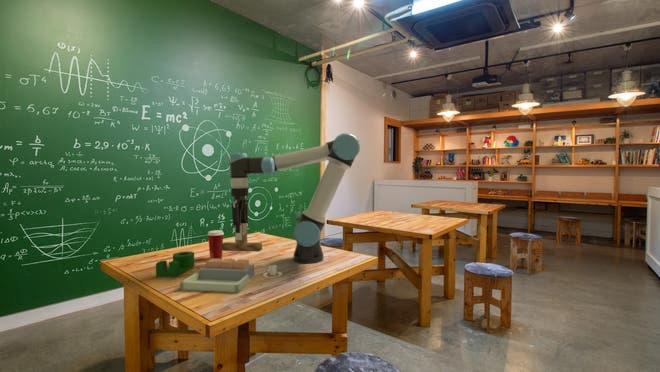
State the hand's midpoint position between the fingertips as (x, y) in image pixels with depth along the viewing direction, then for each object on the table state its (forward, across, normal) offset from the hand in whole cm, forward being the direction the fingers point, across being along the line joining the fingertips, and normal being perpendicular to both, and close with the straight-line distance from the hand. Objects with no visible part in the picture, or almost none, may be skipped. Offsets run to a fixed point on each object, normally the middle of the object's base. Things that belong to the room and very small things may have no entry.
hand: (241, 238), depth 147 cm
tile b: (+9, +13, -1) cm, 16 cm away
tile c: (+9, +13, -7) cm, 17 cm away
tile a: (+9, +13, +5) cm, 17 cm away
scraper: (+5, 0, 0) cm, 5 cm away
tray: (+13, +24, -1) cm, 27 cm away
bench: (+13, +14, -1) cm, 19 cm away
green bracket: (+13, +7, -27) cm, 31 cm away
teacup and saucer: (+15, +5, +19) cm, 24 cm away
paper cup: (+13, -12, -19) cm, 26 cm away
